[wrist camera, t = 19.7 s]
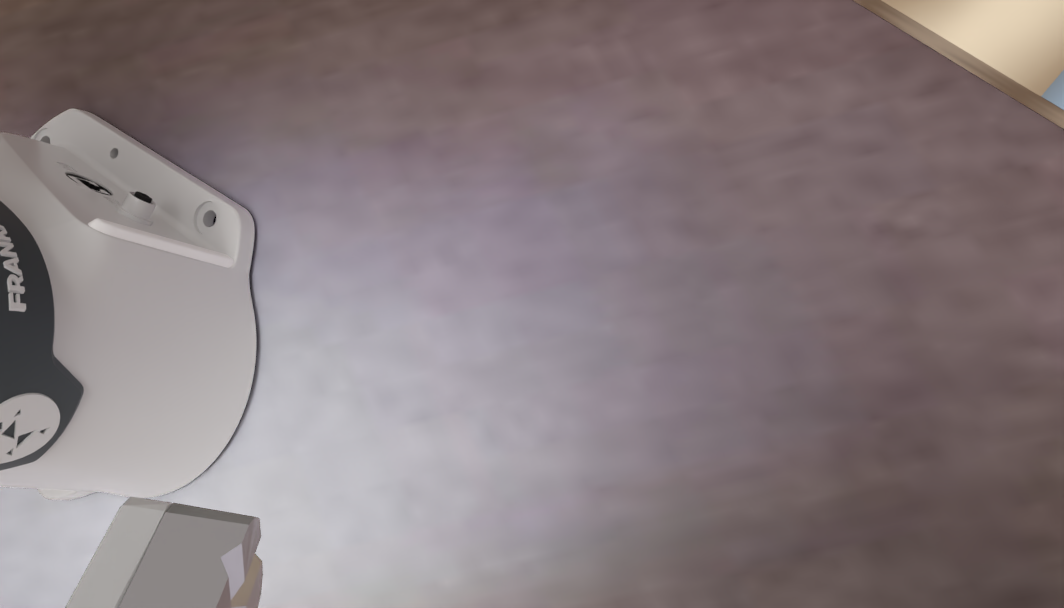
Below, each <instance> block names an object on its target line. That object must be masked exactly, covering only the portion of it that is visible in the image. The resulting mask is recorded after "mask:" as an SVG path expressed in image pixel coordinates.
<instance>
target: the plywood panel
mask: <svg viewBox="0 0 1064 608" xmlns="http://www.w3.org/2000/svg"><path fill="white" fill-rule="evenodd" d="M853 1H855V2H856V3H858V4H860V5H861V6H863V7H865V8H866V9H868V10H870V11H871V12H873V13H874V14H876V15H878V16H879V17H881V18H883V19H884V20H886V21H888V22H889V23H891V24H892V25H894V26H896V27H897V28H899V29H901V30H902V31H904V32H906V33H907V34H909V35H910V36H912V37H914V38H915V39H917V40H919V41H920V42H922V43H924V44H925V45H927V46H928V47H930V48H932V49H933V50H935V51H937V52H938V53H940V54H942V55H943V56H945V57H947V58H948V59H950V60H951V61H953V62H955V63H956V64H958V65H960V66H961V67H963V68H965V69H966V70H968V71H969V72H971V73H973V74H974V75H976V76H978V77H979V78H981V79H983V80H984V81H986V82H987V83H989V84H991V85H992V86H994V87H996V88H997V89H999V90H1001V91H1002V92H1004V93H1005V94H1007V95H1009V96H1010V97H1012V98H1014V99H1015V100H1017V101H1019V102H1020V103H1022V104H1023V105H1025V106H1027V107H1028V108H1030V109H1032V110H1033V111H1035V112H1037V113H1038V114H1040V115H1041V116H1043V117H1045V118H1046V119H1048V120H1050V121H1051V122H1053V123H1055V124H1056V125H1058V126H1059V127H1061V128H1063V129H1064V0H853Z"/></svg>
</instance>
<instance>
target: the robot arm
mask: <svg viewBox="0 0 1064 608" xmlns="http://www.w3.org/2000/svg"><path fill="white" fill-rule="evenodd" d="M215 216H216V222H215V224H214V225H213V220H214V218H215ZM254 236H255V228H254V221H253V218H252V216H251V214H250V213H249V212H248V211H247V210H246V209H245V208H244V207H242V206H241V205H239V204H237V203H236V202H234V201H232V200H231V199H229V198H228V197H226V196H224V195H223V194H221V193H220V192H218V191H216V190H215V189H213V188H212V187H210V186H208V185H207V184H205V183H204V182H202V181H200V180H199V179H197V178H196V177H194V176H192V175H191V174H189V173H188V172H186V171H184V170H183V169H181V168H180V167H178V166H176V165H175V164H173V163H172V162H170V161H168V160H167V159H165V158H163V157H162V156H160V155H159V154H157V153H155V152H154V151H152V150H151V149H149V148H147V147H146V146H144V145H143V144H141V143H139V142H138V141H136V140H135V139H133V138H131V137H130V136H128V135H127V134H125V133H123V132H122V131H120V130H119V129H117V128H115V127H114V126H112V125H111V124H109V123H107V122H106V121H104V120H102V119H101V118H99V117H97V116H96V115H94V114H92V113H90V112H87V111H84V110H79V109H75V108H72V109H68V110H66V111H64V112H62V113H61V114H59V115H57V116H56V117H54V118H53V119H51V120H50V121H48V122H47V123H46V124H45V125H43V126H42V127H41V128H40V129H39V130H38V131H37V132H36V133H35V134H34V135H32V136H31V138H27V137H24V136H20V135H16V134H11V133H5V132H0V487H11V488H30V489H38V491H39V493H40V494H41V495H42V496H43V497H44V498H46V499H50V500H66V501H67V500H73V499H77V498H81V497H84V496H87V495H89V494H92V493H95V492H102V493H109V494H114V495H119V496H125V497H130V498H129V499H128V500H127V501H126V502H125V503H124V504H123V505H122V506H121V507H120V508H119V510H118V512H117V514H116V515H115V517H114V519H113V521H112V523H111V525H110V526H109V528H108V530H107V532H106V534H105V536H104V537H103V539H102V541H101V543H100V545H99V547H98V548H97V550H96V552H95V554H94V556H93V558H92V559H91V561H90V563H89V565H88V567H87V568H86V570H85V572H84V574H83V576H82V578H81V579H80V581H79V583H78V585H77V587H76V589H75V590H74V592H73V594H72V596H71V598H70V600H69V601H68V603H67V605H66V607H65V608H258V604H259V599H260V595H261V587H262V576H263V571H262V561H261V560H260V559H259V557H258V556H257V555H256V554H255V552H256V549H257V546H258V543H259V541H260V538H261V531H260V520H259V518H257V517H253V516H247V515H241V514H235V513H229V512H224V511H218V510H212V509H206V508H200V507H194V506H188V505H183V504H177V503H170V502H163V501H157V500H151V499H144V498H151V497H157V496H161V495H165V494H168V493H170V492H173V491H175V490H177V489H179V488H182V487H183V486H185V485H187V484H188V483H190V482H191V481H193V480H194V479H195V478H197V477H198V476H199V475H200V474H202V473H203V472H204V471H205V470H206V469H207V468H208V467H209V466H210V465H211V464H212V463H213V462H214V461H215V460H216V458H217V457H218V456H219V455H220V453H221V452H222V451H223V449H224V448H225V446H226V445H227V443H228V442H229V440H230V439H231V437H232V435H233V433H234V432H235V430H236V428H237V426H238V424H239V421H240V419H241V417H242V415H243V412H244V409H245V407H246V404H247V401H248V397H249V394H250V390H251V386H252V382H253V376H254V370H255V362H256V324H255V316H254V310H253V304H252V299H251V293H250V285H249V272H250V266H251V260H252V254H253V246H254Z"/></svg>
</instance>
